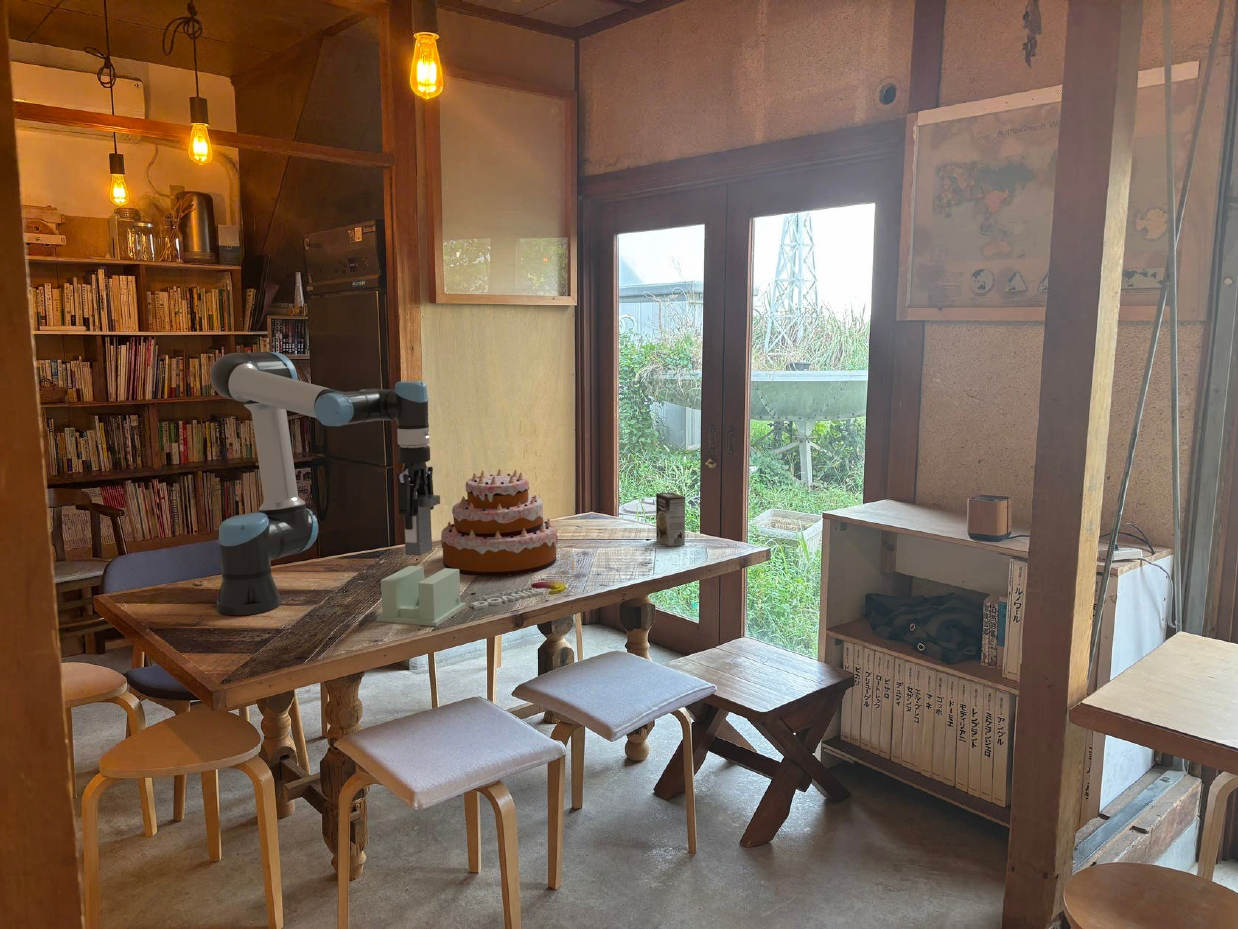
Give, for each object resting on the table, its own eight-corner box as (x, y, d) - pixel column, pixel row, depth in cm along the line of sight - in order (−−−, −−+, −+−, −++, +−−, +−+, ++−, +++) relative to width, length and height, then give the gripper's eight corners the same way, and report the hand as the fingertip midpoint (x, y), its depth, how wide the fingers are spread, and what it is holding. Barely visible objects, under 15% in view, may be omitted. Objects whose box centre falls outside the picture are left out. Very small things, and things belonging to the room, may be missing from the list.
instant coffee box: (655, 541, 299) (655, 493, 297) (672, 539, 302) (672, 491, 300) (668, 546, 291) (668, 497, 289) (685, 544, 294) (685, 496, 291)
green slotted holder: (376, 621, 218) (374, 581, 217) (409, 602, 233) (407, 564, 232) (436, 626, 214) (434, 585, 212) (465, 606, 229) (464, 568, 228)
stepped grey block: (405, 554, 219) (402, 498, 217) (417, 549, 224) (415, 493, 222) (431, 556, 217) (429, 499, 215) (443, 550, 223) (440, 495, 221)
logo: (551, 579, 251) (572, 586, 243) (551, 583, 251) (572, 590, 244) (458, 599, 232) (478, 608, 225) (458, 603, 233) (478, 612, 225)
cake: (572, 569, 264) (571, 476, 260) (454, 582, 252) (450, 484, 248) (539, 544, 297) (537, 460, 293) (432, 554, 284) (429, 467, 280)
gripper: (408, 450, 207) (412, 548, 211) (446, 441, 225) (450, 531, 229) (379, 450, 209) (384, 547, 213) (419, 440, 227) (423, 530, 231)
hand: (418, 538), depth 221 cm, fingers closed on stepped grey block, 6 cm apart
